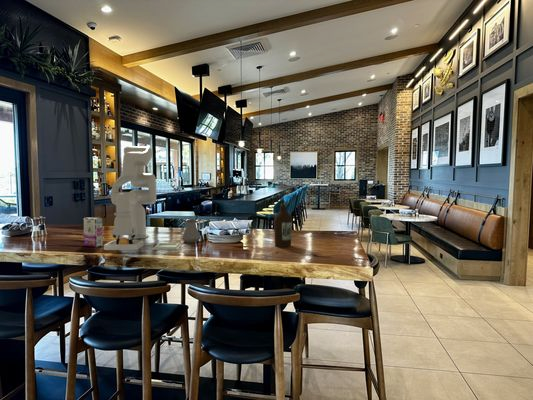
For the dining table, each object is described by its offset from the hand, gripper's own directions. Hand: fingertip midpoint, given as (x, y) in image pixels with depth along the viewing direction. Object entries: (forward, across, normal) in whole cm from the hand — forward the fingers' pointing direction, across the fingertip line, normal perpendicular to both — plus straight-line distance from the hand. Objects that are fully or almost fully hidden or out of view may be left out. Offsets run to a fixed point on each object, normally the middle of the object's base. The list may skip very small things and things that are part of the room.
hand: (124, 245), depth 197 cm
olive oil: (+1, +91, 0) cm, 91 cm away
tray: (+1, +24, 0) cm, 24 cm away
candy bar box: (+1, -20, +7) cm, 21 cm away
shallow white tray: (+1, 0, 0) cm, 1 cm away
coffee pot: (+1, +36, +21) cm, 42 cm away
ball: (+1, 0, 0) cm, 1 cm away
